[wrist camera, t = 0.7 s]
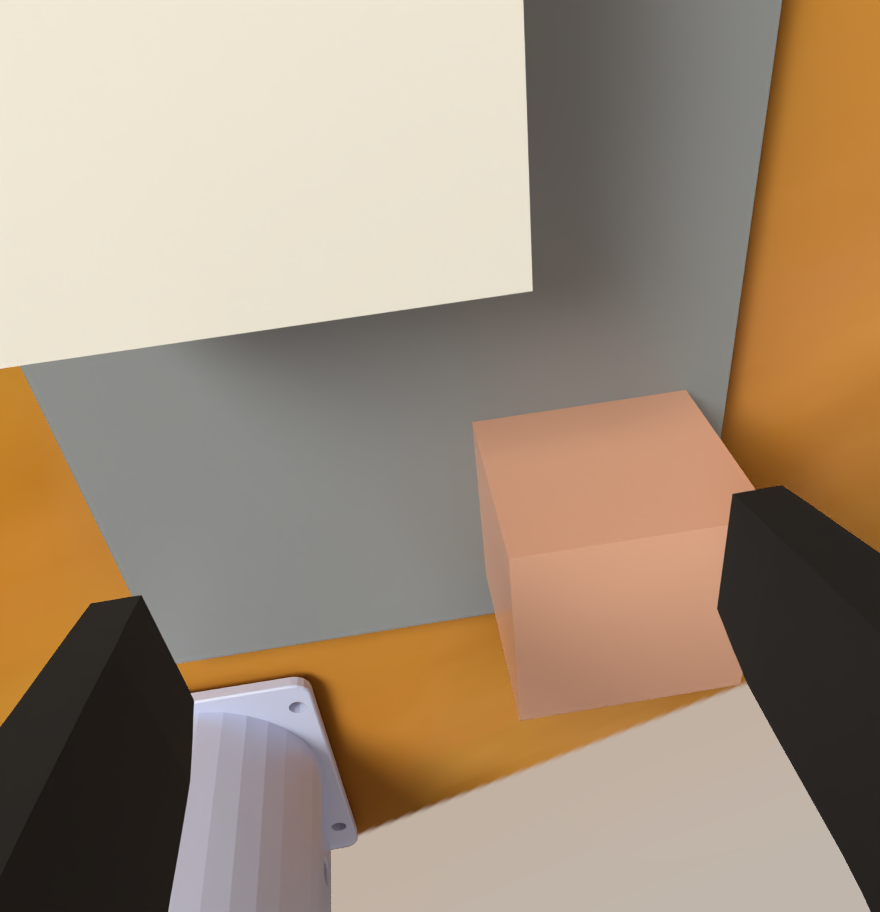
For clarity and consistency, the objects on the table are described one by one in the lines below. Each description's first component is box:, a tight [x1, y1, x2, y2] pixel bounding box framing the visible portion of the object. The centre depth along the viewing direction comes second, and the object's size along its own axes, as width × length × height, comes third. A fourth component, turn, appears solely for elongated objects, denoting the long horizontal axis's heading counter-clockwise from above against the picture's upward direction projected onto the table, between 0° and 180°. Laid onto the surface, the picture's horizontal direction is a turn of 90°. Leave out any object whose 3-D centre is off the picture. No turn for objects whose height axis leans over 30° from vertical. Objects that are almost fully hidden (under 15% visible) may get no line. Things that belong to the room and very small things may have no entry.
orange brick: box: [472, 390, 755, 721], centre depth 18 cm, size 5×5×4 cm
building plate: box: [20, 0, 782, 664], centre depth 16 cm, size 20×15×1 cm
